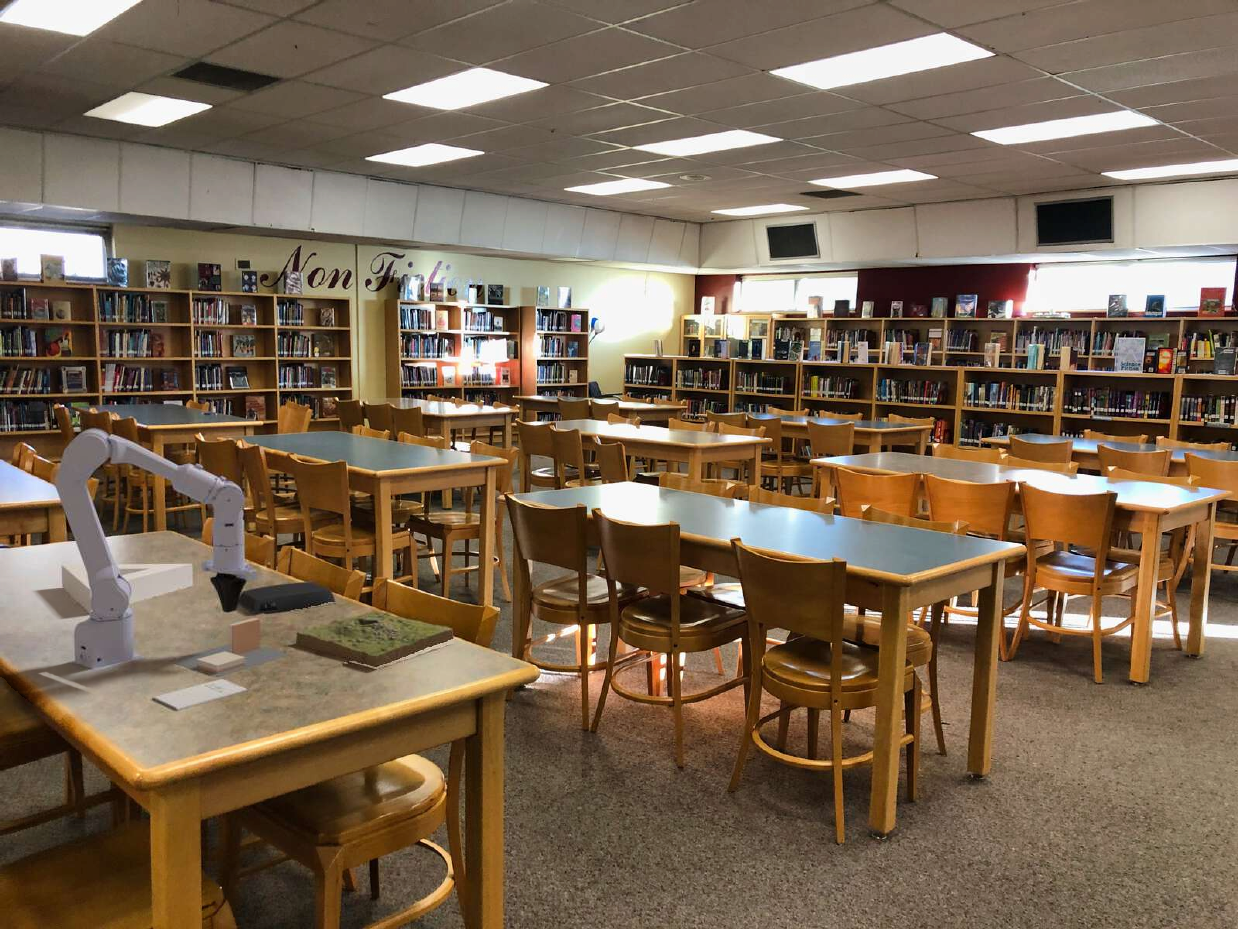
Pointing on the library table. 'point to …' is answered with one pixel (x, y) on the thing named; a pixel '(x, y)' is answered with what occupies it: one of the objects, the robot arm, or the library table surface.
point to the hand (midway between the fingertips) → (229, 611)
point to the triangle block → (131, 580)
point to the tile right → (244, 636)
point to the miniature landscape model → (374, 637)
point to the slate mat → (250, 657)
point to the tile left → (220, 662)
